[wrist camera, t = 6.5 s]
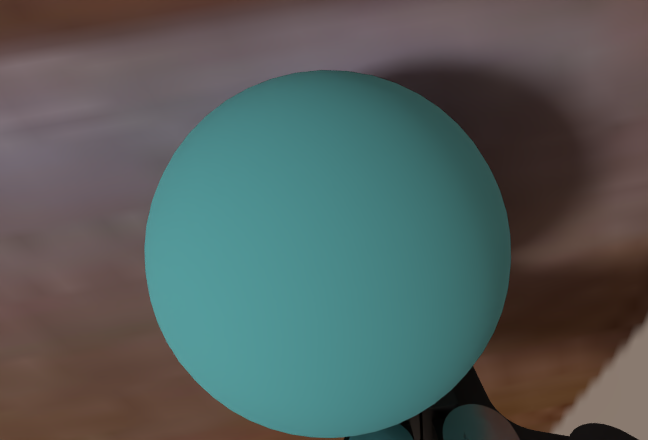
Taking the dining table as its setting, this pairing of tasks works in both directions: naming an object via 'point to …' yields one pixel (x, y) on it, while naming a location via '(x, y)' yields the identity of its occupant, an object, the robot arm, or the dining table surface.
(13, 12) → the dining table surface
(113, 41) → the dining table surface
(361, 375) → the ball
